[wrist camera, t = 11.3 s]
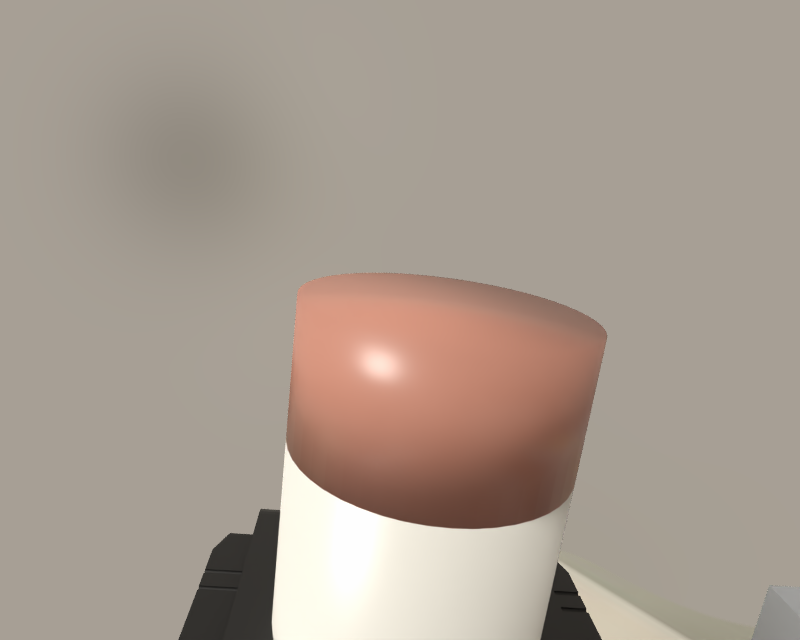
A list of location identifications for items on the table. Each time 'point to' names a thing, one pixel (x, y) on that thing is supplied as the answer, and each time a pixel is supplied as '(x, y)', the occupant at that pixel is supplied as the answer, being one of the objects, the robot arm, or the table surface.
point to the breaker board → (779, 615)
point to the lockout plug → (428, 458)
